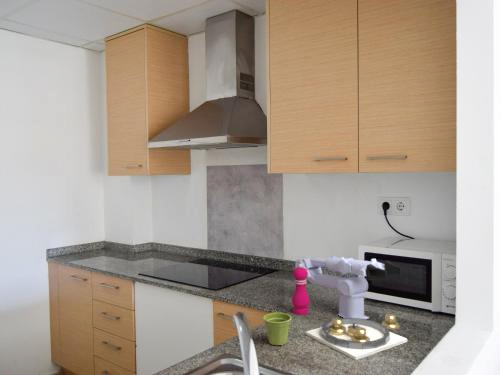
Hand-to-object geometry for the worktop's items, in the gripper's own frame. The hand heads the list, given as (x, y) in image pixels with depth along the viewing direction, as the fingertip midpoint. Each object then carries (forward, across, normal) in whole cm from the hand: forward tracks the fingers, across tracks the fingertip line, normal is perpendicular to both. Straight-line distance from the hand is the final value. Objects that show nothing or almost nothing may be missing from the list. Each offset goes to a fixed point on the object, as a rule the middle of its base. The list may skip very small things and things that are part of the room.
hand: (394, 272), depth 145 cm
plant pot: (-19, -38, +20) cm, 47 cm away
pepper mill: (-38, -13, +19) cm, 44 cm away
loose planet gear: (-7, +4, +21) cm, 23 cm away
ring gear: (-7, -14, +20) cm, 26 cm away
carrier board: (-7, -14, +21) cm, 26 cm away
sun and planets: (-7, -16, +20) cm, 27 cm away
